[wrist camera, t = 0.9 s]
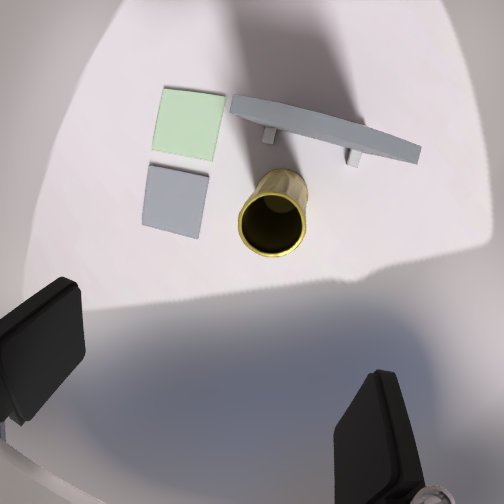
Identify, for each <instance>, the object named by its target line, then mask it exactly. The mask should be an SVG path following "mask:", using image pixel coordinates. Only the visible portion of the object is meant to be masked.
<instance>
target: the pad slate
mask: <svg viewBox="0 0 504 504" xmlns="http://www.w3.org/2000/svg"><path fill="white" fill-rule="evenodd" d="M208 182H209V177H206V176H202V175H197V174H192V173H188V172H183V171H178V170H173V169H168V168H163V167H158V166H152V165H150V166H149V171H148V178H147V185H146V193H145V201H144V209H143V218H142V225H145V226H149V227H153V228H156V229H160V230H164V231H168V232H172V233H175V234H179V235H183V236H187V237H191V238H194V239H198V238H199V232H200V226H201V220H202V215H203V209H204V203H205V198H206V193H207V187H208Z"/></svg>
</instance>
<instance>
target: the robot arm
mask: <svg viewBox="0 0 504 504" xmlns="http://www.w3.org/2000/svg"><path fill="white" fill-rule="evenodd" d="M85 350H86V349H85V340H84V331H83V318H82V302H81V290H80V289H79V288H78V285H77V283H76V282H75V281H72V280H70V279H67V278H65V277H59V278H58V279H56V280H55V281H53V282H52V283H50V284H49V285H47V286H46V287H44V288H43V289H42V290H40V291H39V292H37V293H36V294H34V295H33V296H32V297H30V298H29V299H27V300H26V301H25V302H23V303H22V304H20V305H19V306H18V307H16V308H15V309H14V310H12V311H11V312H10V313H8V314H7V315H6V316H4V317H3V318H1V319H0V504H107V503H105V502H103V501H101V500H99V499H97V498H95V497H93V496H91V495H89V494H87V493H85V492H83V491H81V490H79V489H77V488H76V487H74V486H72V485H70V484H68V483H67V482H65V481H63V480H61V479H60V478H58V477H56V476H55V475H53V474H51V473H50V472H48V471H47V470H45V469H43V468H42V467H40V466H39V465H37V464H36V463H34V462H33V461H31V460H30V459H28V458H27V457H25V456H24V455H23V454H21V453H20V452H18V451H17V450H16V449H14V448H13V447H12V446H10V445H9V444H8V443H6V430H5V420H6V418H7V417H8V416H9V417H10V419H12V420H13V421H15V422H16V423H17V424H19V425H20V426H22V425H23V424H24V422H25V421H30V420H31V419H32V418H33V417H34V416H35V414H36V413H37V412H38V411H39V409H40V408H41V407H42V406H43V405H44V404H45V402H46V401H47V400H48V399H49V398H50V397H51V395H52V394H53V393H54V392H55V391H56V390H57V388H58V387H59V386H60V385H61V384H62V383H63V381H64V380H65V379H66V378H67V377H68V375H70V373H71V372H72V371H73V370H74V369H75V368H76V366H77V365H78V364H79V363H80V362H81V361H82V360H83V358H84V356H85V352H86V351H85ZM334 468H335V469H334V471H335V472H334V474H335V504H455V501H454V498H453V497H452V495H451V494H450V493H449V492H448V491H447V490H446V489H445V488H442V487H440V486H436V485H430V486H425V482H424V477H423V472H422V468H421V463H420V459H419V455H418V451H417V447H416V443H415V439H414V435H413V431H412V428H411V424H410V420H409V417H408V414H407V410H406V407H405V403H404V400H403V397H402V393H401V390H400V386H399V383H398V380H397V377H396V375H395V373H394V372H390V371H384V370H376V371H375V372H374V373H370V374H368V376H367V378H366V379H365V381H364V383H363V384H362V386H361V388H360V389H359V391H358V393H357V394H356V396H355V398H354V399H353V401H352V402H351V404H350V406H349V407H348V409H347V410H346V412H345V413H344V415H343V416H342V418H341V419H340V421H339V423H338V424H337V426H336V427H335V431H334Z"/></svg>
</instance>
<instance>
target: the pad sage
mask: <svg viewBox="0 0 504 504" xmlns="http://www.w3.org/2000/svg"><path fill="white" fill-rule="evenodd" d="M225 101H226V97H224V96H218V95H211V94H204V93H197V92H189V91H181V90H171V89H164V90H163V94H162V99H161V104H160V109H159V114H158V119H157V124H156V129H155V135H154V140H153V146H152V150H153V151H159V152H165V153H170V154H176V155H181V156H186V157H192V158H197V159H202V160H207V161H211V162H212V161H213V157H214V152H215V147H216V142H217V137H218V133H219V128H220V124H221V119H222V114H223V110H224V106H225Z"/></svg>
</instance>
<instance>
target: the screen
mask: <svg viewBox="0 0 504 504" xmlns="http://www.w3.org/2000/svg"><path fill="white" fill-rule="evenodd" d="M230 113H232V114H235V115H237V116H240V117H242V118H245V119H247V120H250V121H252V122H255V123H257V124H259V125H262V126H265V130H264V134H263V139H262V143H267V144H271V145H273V142H274V138H275V134H276V129H278V130H283V131H287V132H291V133H295V134H299V135H303V136H307V137H311V138H314V139H318V140H322V141H325V142H329V143H332V144H336V145H339V146H343V147H346V148H349V149H350V152H349V156H348V160H347V165H350V166H353V167H356V168H358V165H359V162H360V158H361V154H362V153H367V154H372V155H377V156H382V157H386V158H391V159H396V160H400V161H405V162H409V163H413V164H417V163H418V159H419V155H420V151H421V146H419V145H416V144H414V143H411V142H409V141H406V140H403V139H401V138H398V137H395V136H392V135H390V134H387V133H384V132H381V131H378V130H375V129H372V128H369V127H368V126H365V125H362V124H359V123H358V124H357V123H353V122H350V121H347V120H343V119H340V118H337V117H333V116H330V115H326V114H322V113H319V112H315V111H311V110H307V109H303V108H299V107H295V106H291V105H286V104H282V103H281V102H276V101H268V100H263V99H258V98H253V97H248V96H242V95H236V94H234V95H233V100H232V104H231V108H230Z"/></svg>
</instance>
